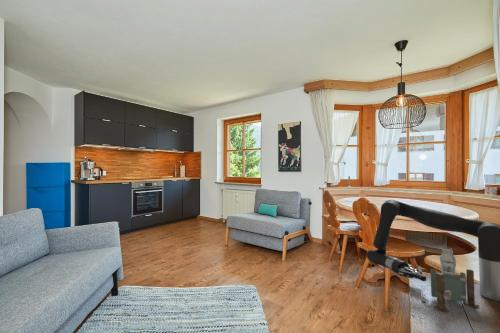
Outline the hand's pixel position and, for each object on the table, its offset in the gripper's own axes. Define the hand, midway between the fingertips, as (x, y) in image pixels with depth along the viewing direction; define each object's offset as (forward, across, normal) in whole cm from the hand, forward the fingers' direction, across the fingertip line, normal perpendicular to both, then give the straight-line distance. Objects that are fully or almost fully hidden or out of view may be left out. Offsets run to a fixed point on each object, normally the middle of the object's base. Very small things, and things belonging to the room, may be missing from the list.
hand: (425, 279), depth 118 cm
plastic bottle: (-1, +15, +7) cm, 17 cm away
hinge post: (+13, +10, +7) cm, 18 cm away
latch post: (+13, -6, +7) cm, 16 cm away
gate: (+8, +4, +5) cm, 10 cm away
